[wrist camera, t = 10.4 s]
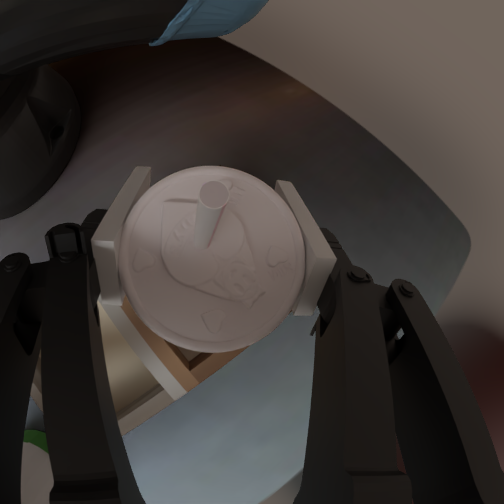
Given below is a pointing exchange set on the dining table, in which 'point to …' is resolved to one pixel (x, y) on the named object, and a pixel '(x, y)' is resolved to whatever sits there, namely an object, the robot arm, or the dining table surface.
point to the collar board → (143, 366)
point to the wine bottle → (35, 469)
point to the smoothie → (211, 259)
